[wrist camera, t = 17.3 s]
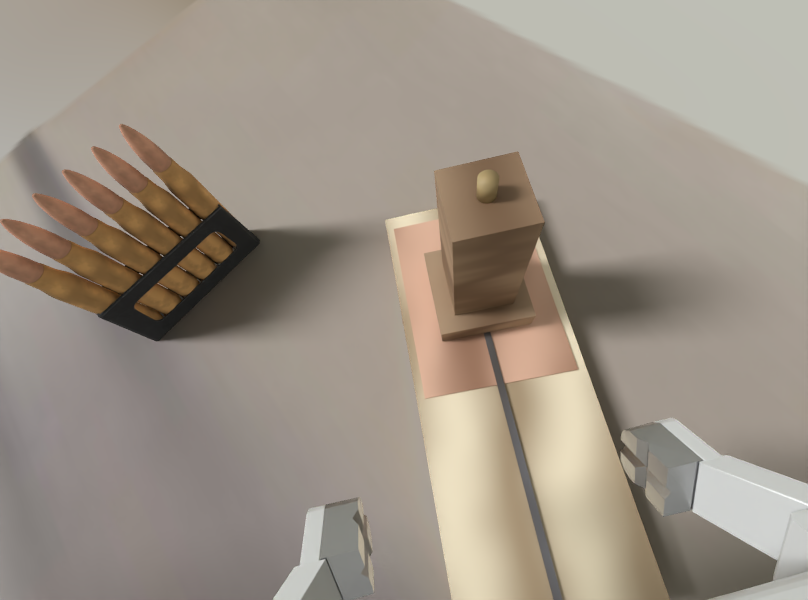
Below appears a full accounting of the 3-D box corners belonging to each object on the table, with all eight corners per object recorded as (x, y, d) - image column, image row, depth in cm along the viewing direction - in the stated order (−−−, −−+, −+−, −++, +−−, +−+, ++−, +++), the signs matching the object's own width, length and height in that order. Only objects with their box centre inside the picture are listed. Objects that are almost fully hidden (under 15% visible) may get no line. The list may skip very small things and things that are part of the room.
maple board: (457, 618, 19) (457, 633, 18) (388, 230, 28) (384, 218, 27) (654, 589, 19) (672, 601, 17) (518, 202, 28) (522, 187, 26)
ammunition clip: (247, 229, 30) (126, 105, 19) (261, 241, 30) (144, 120, 19) (144, 327, 28) (-57, 250, 17) (157, 342, 28) (-44, 272, 17)
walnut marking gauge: (442, 341, 23) (429, 258, 13) (425, 264, 25) (403, 140, 15) (531, 323, 23) (589, 223, 12) (506, 246, 25) (540, 107, 15)
